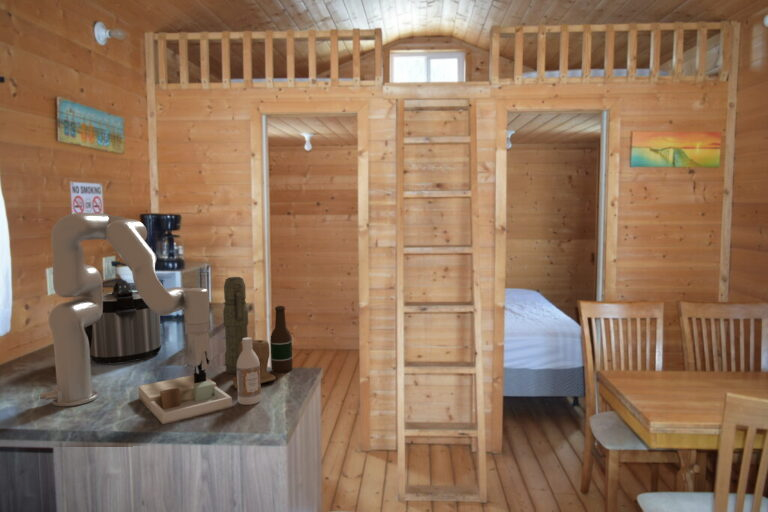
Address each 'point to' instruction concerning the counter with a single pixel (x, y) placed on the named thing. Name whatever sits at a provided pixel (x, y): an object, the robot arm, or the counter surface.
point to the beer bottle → (281, 344)
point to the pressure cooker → (124, 328)
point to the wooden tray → (153, 390)
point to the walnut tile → (170, 398)
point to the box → (192, 407)
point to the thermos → (234, 320)
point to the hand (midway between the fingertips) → (200, 384)
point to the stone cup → (263, 355)
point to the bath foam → (248, 375)
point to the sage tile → (202, 391)
